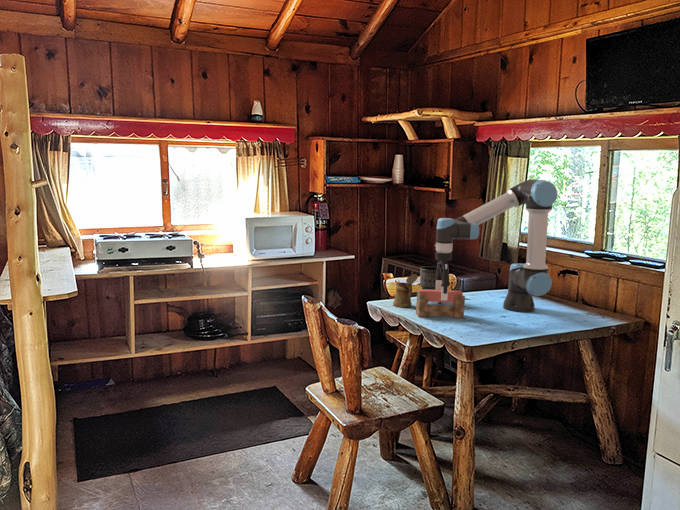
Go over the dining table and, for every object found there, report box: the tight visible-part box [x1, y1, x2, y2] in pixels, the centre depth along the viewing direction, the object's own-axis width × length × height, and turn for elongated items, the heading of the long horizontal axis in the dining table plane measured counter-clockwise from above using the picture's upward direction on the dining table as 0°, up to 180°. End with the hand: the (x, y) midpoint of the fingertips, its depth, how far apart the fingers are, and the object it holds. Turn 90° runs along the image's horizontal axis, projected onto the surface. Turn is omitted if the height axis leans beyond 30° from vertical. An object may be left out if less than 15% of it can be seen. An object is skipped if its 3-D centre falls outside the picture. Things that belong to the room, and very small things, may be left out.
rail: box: [417, 288, 464, 304], centre depth 276 cm, size 20×4×5 cm, turn 92°
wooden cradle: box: [415, 290, 466, 320], centre depth 277 cm, size 21×7×10 cm, turn 92°
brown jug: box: [392, 273, 419, 309], centre depth 291 cm, size 9×14×18 cm, turn 30°
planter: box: [419, 265, 443, 305], centre depth 303 cm, size 13×13×18 cm
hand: (441, 296), depth 276 cm, fingers open, 13 cm apart
